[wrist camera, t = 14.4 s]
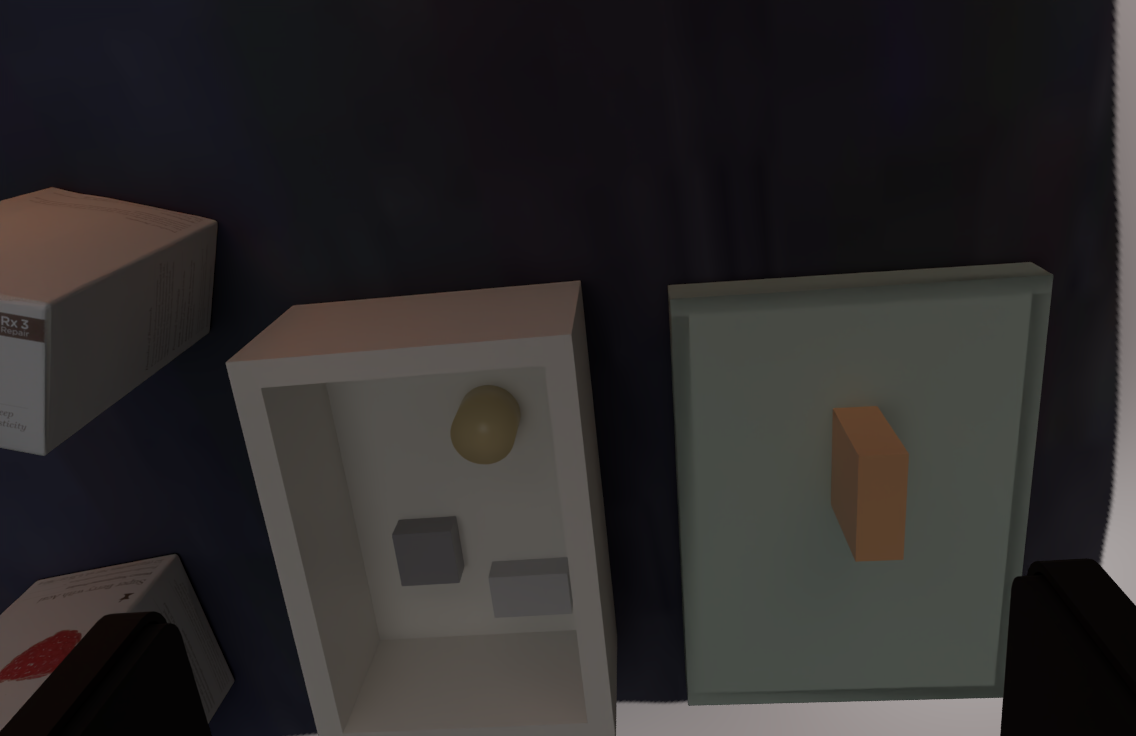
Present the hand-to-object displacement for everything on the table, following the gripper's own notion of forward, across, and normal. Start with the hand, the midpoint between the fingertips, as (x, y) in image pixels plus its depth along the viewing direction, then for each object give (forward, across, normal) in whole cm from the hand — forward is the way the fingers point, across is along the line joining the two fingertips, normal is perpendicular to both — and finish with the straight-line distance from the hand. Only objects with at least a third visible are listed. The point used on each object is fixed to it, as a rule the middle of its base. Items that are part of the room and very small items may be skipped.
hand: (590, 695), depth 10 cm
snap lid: (+33, -10, +16) cm, 38 cm away
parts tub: (+33, +9, +14) cm, 37 cm away
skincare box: (+34, +23, +1) cm, 41 cm away
